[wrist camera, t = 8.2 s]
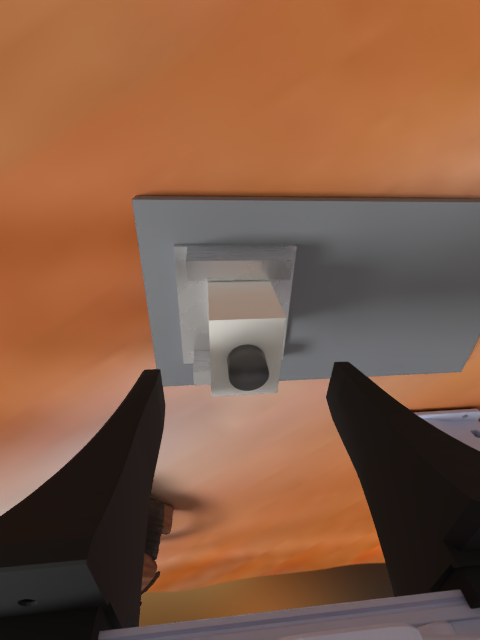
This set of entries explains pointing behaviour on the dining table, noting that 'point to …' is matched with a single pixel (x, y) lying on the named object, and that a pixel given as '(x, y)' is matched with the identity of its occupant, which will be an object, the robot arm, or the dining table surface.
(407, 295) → the board
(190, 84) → the dining table surface
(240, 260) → the end holder
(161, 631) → the robot arm
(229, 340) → the connector
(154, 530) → the pottery mug
